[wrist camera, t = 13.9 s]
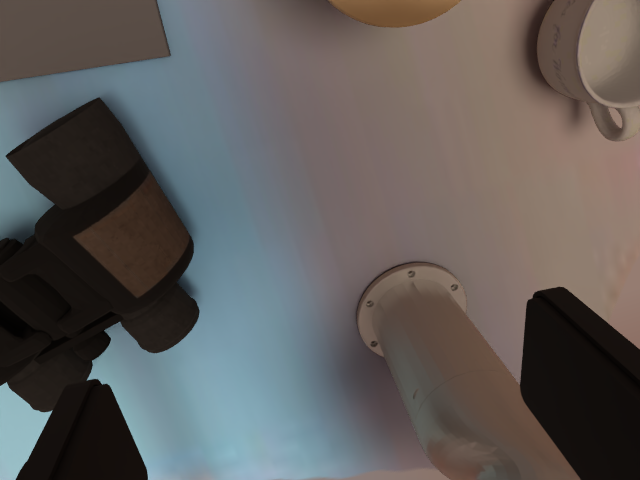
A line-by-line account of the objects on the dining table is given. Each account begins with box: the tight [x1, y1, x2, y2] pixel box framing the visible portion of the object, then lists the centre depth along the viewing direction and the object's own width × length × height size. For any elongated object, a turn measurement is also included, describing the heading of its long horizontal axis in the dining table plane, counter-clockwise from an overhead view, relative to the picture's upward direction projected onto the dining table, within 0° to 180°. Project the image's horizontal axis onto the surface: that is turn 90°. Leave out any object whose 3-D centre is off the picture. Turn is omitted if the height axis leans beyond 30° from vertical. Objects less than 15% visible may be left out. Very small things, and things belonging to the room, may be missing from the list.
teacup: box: [537, 0, 640, 141], centre depth 39 cm, size 14×11×8 cm
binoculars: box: [0, 98, 199, 412], centre depth 40 cm, size 29×20×10 cm
